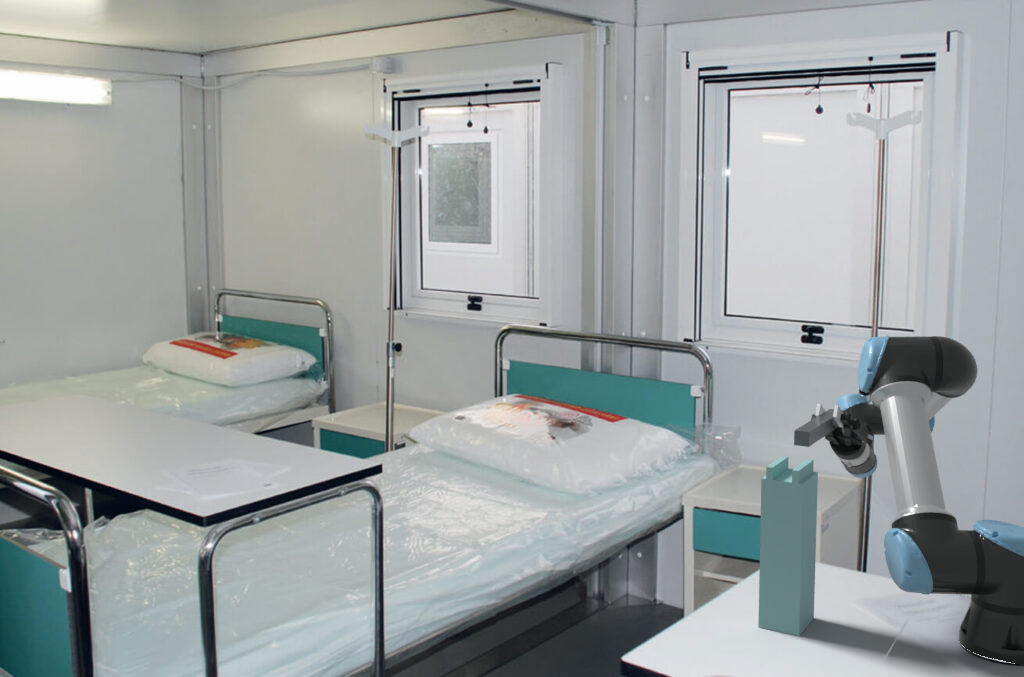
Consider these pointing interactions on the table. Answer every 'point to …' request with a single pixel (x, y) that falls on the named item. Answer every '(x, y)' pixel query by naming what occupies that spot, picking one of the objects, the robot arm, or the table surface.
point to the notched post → (787, 546)
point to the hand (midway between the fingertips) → (826, 410)
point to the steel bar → (815, 429)
